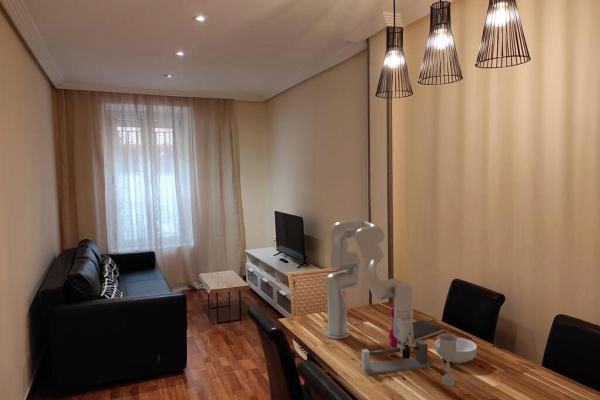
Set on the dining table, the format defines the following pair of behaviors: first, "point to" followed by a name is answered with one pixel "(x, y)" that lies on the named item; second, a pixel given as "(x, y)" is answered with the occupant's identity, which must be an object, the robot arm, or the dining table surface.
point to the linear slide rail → (395, 364)
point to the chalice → (447, 354)
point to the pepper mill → (391, 336)
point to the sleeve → (400, 345)
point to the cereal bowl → (460, 350)
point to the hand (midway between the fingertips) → (403, 355)
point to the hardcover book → (425, 330)
